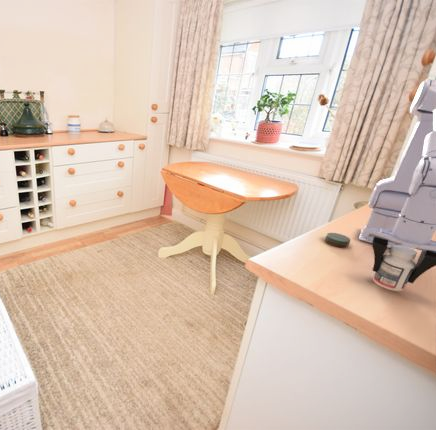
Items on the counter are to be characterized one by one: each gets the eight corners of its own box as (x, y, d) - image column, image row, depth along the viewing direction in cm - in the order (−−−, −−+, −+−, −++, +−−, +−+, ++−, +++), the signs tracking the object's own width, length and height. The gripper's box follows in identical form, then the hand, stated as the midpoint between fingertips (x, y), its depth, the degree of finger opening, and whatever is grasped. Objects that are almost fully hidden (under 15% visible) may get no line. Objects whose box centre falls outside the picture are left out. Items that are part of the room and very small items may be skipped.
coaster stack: (326, 236, 87) (328, 230, 87) (349, 243, 84) (351, 237, 83) (322, 243, 83) (325, 236, 83) (346, 250, 80) (349, 243, 79)
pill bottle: (391, 278, 67) (407, 244, 63) (410, 292, 62) (429, 256, 58) (366, 276, 67) (381, 242, 64) (383, 290, 62) (400, 254, 59)
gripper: (371, 213, 60) (348, 269, 65) (476, 236, 51) (440, 299, 56) (373, 205, 65) (352, 257, 70) (470, 224, 56) (437, 283, 61)
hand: (391, 275), depth 64 cm, fingers closed on pill bottle, 5 cm apart
